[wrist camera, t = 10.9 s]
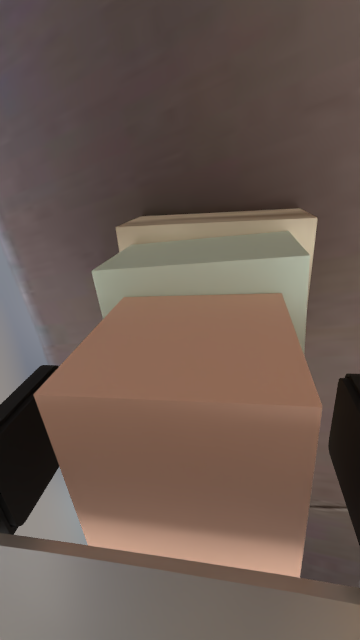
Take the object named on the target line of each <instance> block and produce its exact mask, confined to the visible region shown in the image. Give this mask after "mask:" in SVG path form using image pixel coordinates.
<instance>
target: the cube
mask: <svg viewBox="0 0 360 640" xmlns="http://www.w3.org/2000/svg"><path fill="white" fill-rule="evenodd" d="M33 395H34V398H35V401H36V403H37V406H38V409H39V412H40V414H41V417H42V420H43V422H44V425H45V428H46V431H47V433H48V436H49V439H50V442H51V444H52V447H53V450H54V453H55V455H56V458H57V461H58V464H59V466H60V469H61V472H62V475H63V477H64V480H65V483H66V486H67V488H68V491H69V494H70V496H71V499H72V502H73V505H74V507H75V510H76V513H77V515H78V518H79V521H80V524H81V527H82V529H83V532H84V535H85V538H86V540H87V543H88V546H95V547H102V548H109V549H115V550H122V551H129V552H136V553H143V554H149V555H156V556H163V557H169V558H176V559H183V560H189V561H196V562H202V563H209V564H215V565H222V566H228V567H235V568H241V569H248V570H254V571H261V572H267V573H274V574H280V575H287V576H292V577H298V578H300V572H301V564H302V557H303V549H304V542H305V534H306V527H307V519H308V512H309V504H310V497H311V489H312V482H313V474H314V467H315V459H316V452H317V444H318V437H319V429H320V422H321V414H322V404H321V401H320V399H319V396H318V393H317V390H316V387H315V385H314V382H313V379H312V376H311V374H310V371H309V368H308V365H307V362H306V360H305V357H304V354H303V351H302V348H301V346H300V343H299V340H298V337H297V334H296V332H295V329H294V326H293V323H292V320H291V318H290V315H289V312H288V309H287V306H286V304H285V301H284V298H283V295H282V293H265V294H225V295H185V296H145V297H123V298H122V299H121V300H120V302H119V303H118V304H117V305H116V306H115V307H114V308H113V309H112V310H111V311H110V312H109V313H108V315H107V316H106V317H105V318H104V319H103V320H102V321H101V322H100V323H99V324H98V325H97V326H96V327H95V329H94V330H93V331H92V332H91V333H90V334H89V335H88V336H87V337H86V338H85V339H84V340H83V342H82V343H81V344H80V345H79V346H78V347H77V348H76V349H75V350H74V351H73V352H72V353H71V354H70V356H69V357H68V358H67V359H66V360H65V361H64V362H63V363H62V364H61V365H60V366H59V367H58V369H57V370H56V371H55V372H54V373H53V374H52V375H51V376H50V377H49V378H48V379H47V380H46V381H45V383H44V384H43V385H42V386H41V387H40V388H39V389H38V390H37V391H36V392H35V393H34V394H33Z"/></svg>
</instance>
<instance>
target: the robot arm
mask: <svg viewBox="0 0 360 640" xmlns="http://www.w3.org/2000/svg"><path fill="white" fill-rule="evenodd" d="M58 367H59V366H53V365H42V366H40V367H39V368H38V369H37V370H36V371H35V372H34V373H33V374H32V375H30V377H28V379H26V380H25V381H24V382H23V383H22V384H21V385H20V386H19V387H18V388H17V389H16V390H15V391H14V392H13V393H12V394H11V395H10V396H9V397H8V398H7V399H6V400H5V401H4V402H3V403H2V404H1V405H0V640H360V588H356V587H351V586H345V585H339V584H333V583H327V582H322V581H316V580H310V579H304V578H298V577H292V576H287V575H280V574H274V573H267V572H261V571H254V570H248V569H241V568H235V567H228V566H222V565H215V564H209V563H202V562H196V561H189V560H183V559H176V558H169V557H163V556H156V555H149V554H143V553H136V552H129V551H122V550H115V549H109V548H102V547H95V546H88V545H81V544H75V543H67V542H61V541H53V540H45V539H38V538H32V537H25V536H17V535H14V533H15V531H16V530H17V528H18V527H19V526H21V525H23V524H24V522H25V521H26V520H27V518H28V516H29V515H30V513H31V512H32V510H33V508H34V507H35V505H36V503H37V502H38V500H39V499H40V497H41V495H42V494H43V492H44V490H45V489H46V487H47V485H48V484H49V482H50V481H51V479H52V477H53V476H54V474H55V472H56V471H57V469H58V468H59V464H58V461H57V458H56V455H55V453H54V450H53V447H52V444H51V442H50V439H49V436H48V433H47V431H46V428H45V425H44V422H43V420H42V417H41V414H40V412H39V409H38V406H37V403H36V401H35V398H34V395H33V394H34V393H35V392H36V391H37V390H38V389H39V388H40V387H41V386H42V385H43V384H44V383H45V381H46V380H47V379H48V378H49V377H50V376H51V375H52V374H53V373H54V372H55V371H56V370H57V369H58ZM329 453H330V456H331V459H332V463H333V466H334V469H335V472H336V475H337V478H338V481H339V484H340V487H341V490H342V493H343V496H344V499H345V502H346V505H347V508H348V511H349V515H350V518H351V521H352V524H353V527H354V530H355V533H356V536H357V539H358V542H359V545H360V374H346V376H345V378H340V379H339V382H338V387H337V394H336V400H335V406H334V412H333V418H332V424H331V431H330V437H329Z"/></svg>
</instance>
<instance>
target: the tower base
mask: <svg viewBox="0 0 360 640" xmlns="http://www.w3.org/2000/svg"><path fill="white" fill-rule="evenodd" d="M316 227H317V217H315V216H313V215H311V214H309V213H308V212H306V211H304V210H302V209H300V208H295V209H276V210H256V211H237V212H217V213H198V214H179V215H159V216H141V217H138V218H136V219H134V220H131V221H129V222H126V223H124V224H122V225H119V226H117V227H116V233H117V239H118V246H119V253H120V252H121V251H123V250H124V249H126V248H127V247H129V246H130V245H133V244H145V243H156V242H167V241H179V240H190V239H202V238H213V237H224V236H236V235H247V234H259V233H270V232H281V231H289V232H290V233H291V234H292V235H293V237H294V238H295V239H296V240H297V241H298V242H299V243H300V245H301V246H302V247H303V248H304V249H305V250H306V251H307V252H308V254H309V255H310V265H309V282H308V295H309V287H310V278H311V270H312V261H313V253H314V244H315V236H316ZM307 304H308V298H307Z"/></svg>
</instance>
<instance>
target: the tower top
mask: <svg viewBox="0 0 360 640" xmlns="http://www.w3.org/2000/svg"><path fill="white" fill-rule="evenodd" d="M309 265H310V255H309V254H308V252H307V251H306V250H305V249H304V248H303V247H302V246H301V245H300V243H299V242H298V241H297V240H296V239H295V238H294V237H293V235H292V234H291V233H290V232H289V231H281V232H270V233H259V234H247V235H236V236H224V237H213V238H202V239H190V240H179V241H167V242H156V243H145V244H133V245H130V246H129V247H127V248H126V249H124V250H123V251H121V252H120V253H118V254H116V255H115V256H113V257H112V258H110V259H109V260H107V261H106V262H104V263H103V264H101V265H100V266H98V267H97V268H95V269H94V270H92V276H93V280H94V284H95V288H96V292H97V296H98V300H99V305H100V309H101V313H102V317H103V319H104V318H105V317H106V316H107V315H108V313H109V312H110V311H111V310H112V309H113V308H114V307H115V306H116V305H117V304H118V303H119V302H120V300H121V299H122V298H123V297H145V296H185V295H225V294H265V293H282V295H283V298H284V301H285V304H286V306H287V309H288V312H289V315H290V318H291V320H292V323H293V326H294V329H295V332H296V334H297V337H298V340H299V343H300V346H301V348H302V351H303V354H304V349H305V332H306V315H307V298H308V282H309Z"/></svg>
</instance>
